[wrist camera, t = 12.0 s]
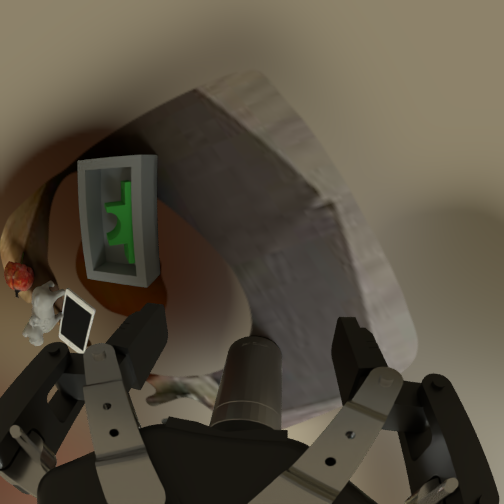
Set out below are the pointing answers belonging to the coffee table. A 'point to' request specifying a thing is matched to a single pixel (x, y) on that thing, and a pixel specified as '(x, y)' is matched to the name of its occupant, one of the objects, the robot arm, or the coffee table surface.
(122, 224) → the pipe clamp
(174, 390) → the coffee table surface
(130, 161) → the bin
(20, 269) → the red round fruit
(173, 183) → the coffee table surface
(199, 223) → the coffee table surface
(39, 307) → the dog figurine
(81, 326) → the cell phone
